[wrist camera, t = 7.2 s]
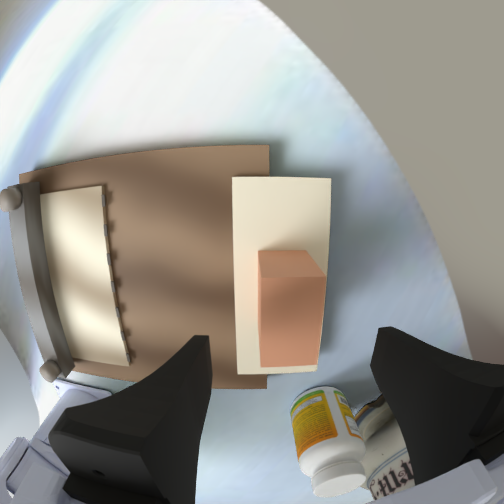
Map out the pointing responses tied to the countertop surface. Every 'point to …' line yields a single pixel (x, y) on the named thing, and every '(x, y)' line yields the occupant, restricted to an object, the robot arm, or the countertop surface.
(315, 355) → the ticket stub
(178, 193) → the ticket board
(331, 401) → the supplement bottle
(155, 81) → the countertop surface
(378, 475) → the apothecary jar
